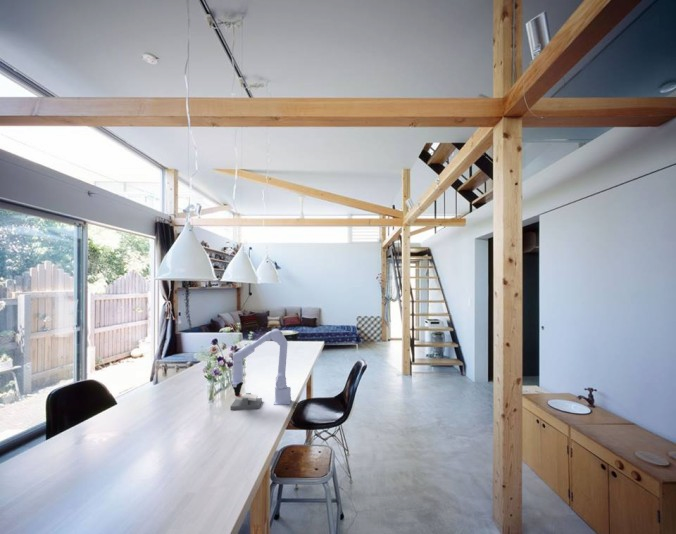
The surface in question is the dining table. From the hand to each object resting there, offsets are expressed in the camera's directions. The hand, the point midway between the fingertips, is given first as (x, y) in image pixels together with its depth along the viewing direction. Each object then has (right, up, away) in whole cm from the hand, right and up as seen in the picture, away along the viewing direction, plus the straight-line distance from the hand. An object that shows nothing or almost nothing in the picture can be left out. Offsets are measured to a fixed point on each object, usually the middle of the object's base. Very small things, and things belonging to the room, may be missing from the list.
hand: (237, 395), depth 189 cm
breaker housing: (+6, -6, 0) cm, 8 cm away
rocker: (+5, -1, 0) cm, 5 cm away
